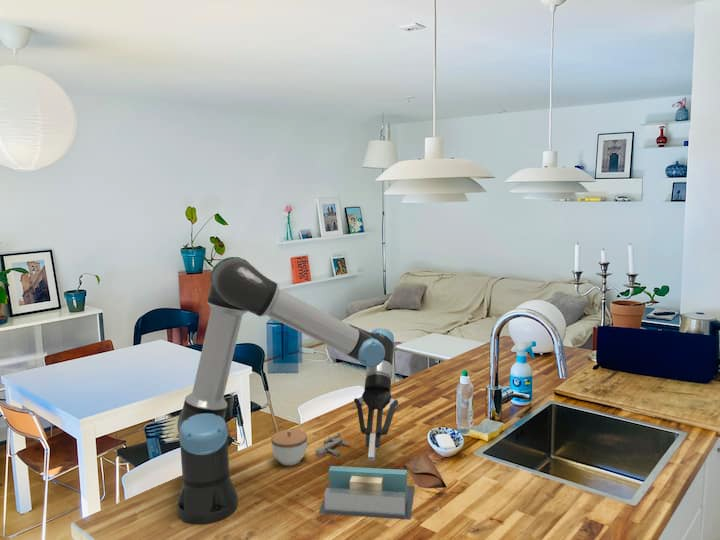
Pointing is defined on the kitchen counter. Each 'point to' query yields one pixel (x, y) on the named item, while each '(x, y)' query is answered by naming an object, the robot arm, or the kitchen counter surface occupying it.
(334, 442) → the clamp
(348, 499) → the vise base
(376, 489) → the block
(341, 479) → the slide jaw
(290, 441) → the lidded jar
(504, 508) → the kitchen counter surface
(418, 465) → the sunglasses case
